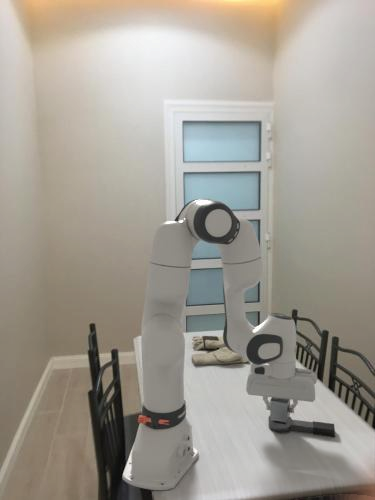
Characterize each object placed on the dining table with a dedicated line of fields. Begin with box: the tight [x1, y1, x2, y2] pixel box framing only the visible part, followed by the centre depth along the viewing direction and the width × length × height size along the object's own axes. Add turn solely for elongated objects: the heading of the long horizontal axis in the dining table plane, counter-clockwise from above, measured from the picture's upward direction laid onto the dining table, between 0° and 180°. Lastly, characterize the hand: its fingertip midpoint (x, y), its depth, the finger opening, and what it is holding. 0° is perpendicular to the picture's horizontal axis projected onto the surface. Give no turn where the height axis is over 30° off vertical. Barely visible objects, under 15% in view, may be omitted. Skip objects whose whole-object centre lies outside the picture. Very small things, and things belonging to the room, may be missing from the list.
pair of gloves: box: [190, 335, 250, 366], centre depth 183 cm, size 30×26×5 cm
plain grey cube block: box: [269, 397, 291, 423], centre depth 122 cm, size 5×5×6 cm
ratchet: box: [268, 415, 336, 438], centre depth 121 cm, size 7×19×6 cm, turn 74°
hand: (280, 410), depth 122 cm, fingers closed on plain grey cube block, 5 cm apart
